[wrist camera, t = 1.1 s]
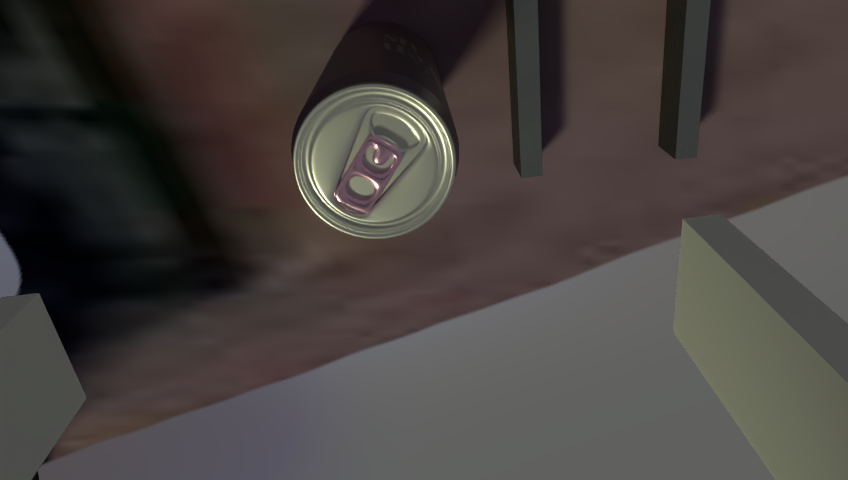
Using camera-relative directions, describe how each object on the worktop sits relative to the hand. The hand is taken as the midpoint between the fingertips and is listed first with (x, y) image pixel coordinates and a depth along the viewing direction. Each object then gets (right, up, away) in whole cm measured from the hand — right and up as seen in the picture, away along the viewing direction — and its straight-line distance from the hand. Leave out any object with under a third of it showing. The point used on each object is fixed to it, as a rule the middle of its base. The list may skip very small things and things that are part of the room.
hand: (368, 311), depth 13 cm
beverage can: (-1, +11, +22) cm, 24 cm away
